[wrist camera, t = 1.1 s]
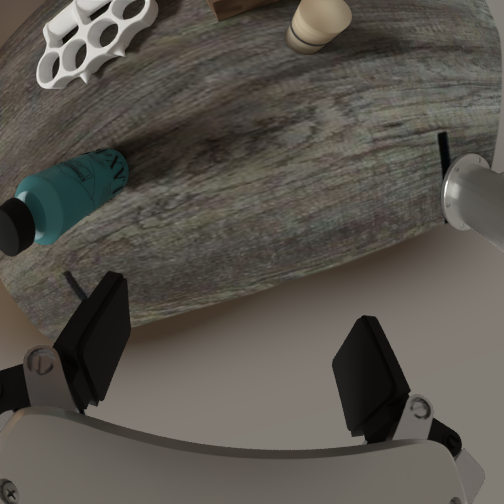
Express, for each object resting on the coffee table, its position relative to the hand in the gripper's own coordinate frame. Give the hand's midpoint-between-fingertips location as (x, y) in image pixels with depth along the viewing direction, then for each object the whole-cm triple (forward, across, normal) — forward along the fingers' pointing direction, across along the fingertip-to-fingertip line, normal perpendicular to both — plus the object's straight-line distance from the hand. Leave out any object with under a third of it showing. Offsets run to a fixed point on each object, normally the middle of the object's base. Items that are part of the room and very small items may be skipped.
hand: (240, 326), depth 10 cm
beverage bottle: (+24, +17, +1) cm, 30 cm away
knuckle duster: (+25, +24, -17) cm, 39 cm away
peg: (+24, -3, -19) cm, 31 cm away
